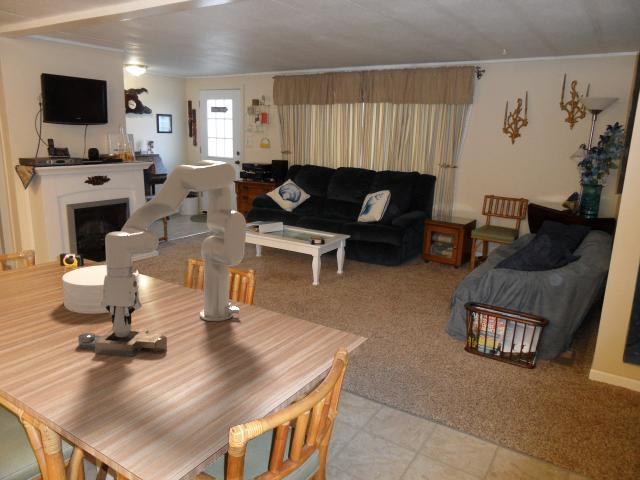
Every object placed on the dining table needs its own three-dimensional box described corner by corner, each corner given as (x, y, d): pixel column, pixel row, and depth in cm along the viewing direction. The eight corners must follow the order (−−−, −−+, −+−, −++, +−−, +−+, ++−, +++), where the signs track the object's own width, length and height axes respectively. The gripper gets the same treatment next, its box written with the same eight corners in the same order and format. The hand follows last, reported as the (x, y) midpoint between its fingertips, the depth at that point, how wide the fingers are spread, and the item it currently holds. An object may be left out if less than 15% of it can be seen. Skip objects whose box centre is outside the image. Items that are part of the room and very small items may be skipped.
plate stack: (153, 299, 198) (152, 273, 195) (90, 319, 175) (89, 290, 172) (112, 285, 212) (111, 261, 210) (50, 302, 189) (47, 275, 187)
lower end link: (148, 340, 160) (148, 332, 159) (132, 356, 148) (132, 348, 147) (89, 336, 161) (89, 328, 160) (69, 352, 149) (68, 343, 148)
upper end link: (173, 342, 159) (173, 331, 158) (159, 358, 147) (158, 347, 147) (114, 338, 160) (113, 327, 159) (95, 354, 149) (94, 342, 148)
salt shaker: (113, 339, 149) (111, 300, 146) (111, 332, 154) (110, 294, 151) (132, 336, 152) (131, 298, 149) (130, 329, 157) (129, 292, 154)
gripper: (150, 269, 152) (151, 323, 156) (100, 266, 152) (103, 319, 156) (139, 276, 144) (141, 332, 148) (88, 272, 145) (91, 328, 149)
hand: (121, 325), depth 152 cm, fingers closed on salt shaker, 3 cm apart
